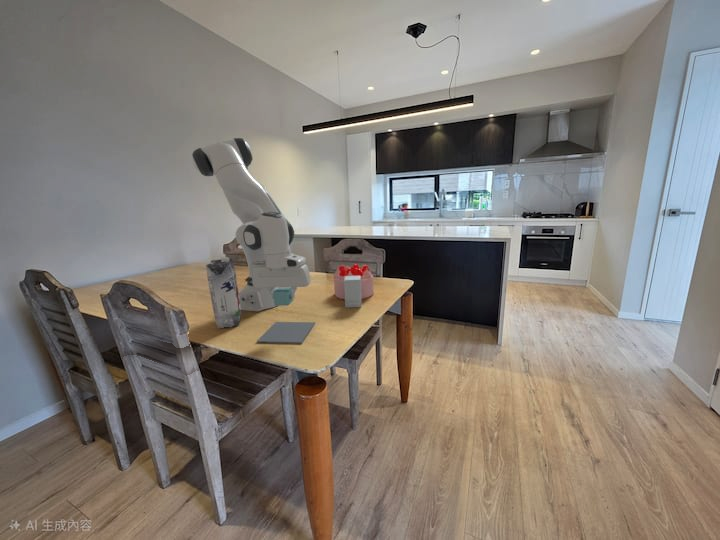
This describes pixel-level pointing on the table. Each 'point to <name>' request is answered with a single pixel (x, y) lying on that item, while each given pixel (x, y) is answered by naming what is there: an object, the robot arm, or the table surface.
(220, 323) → the juice carton
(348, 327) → the table surface
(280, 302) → the teal cube
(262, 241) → the robot arm
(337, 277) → the cake
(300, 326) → the charcoal mat
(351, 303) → the supplement box
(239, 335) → the table surface
